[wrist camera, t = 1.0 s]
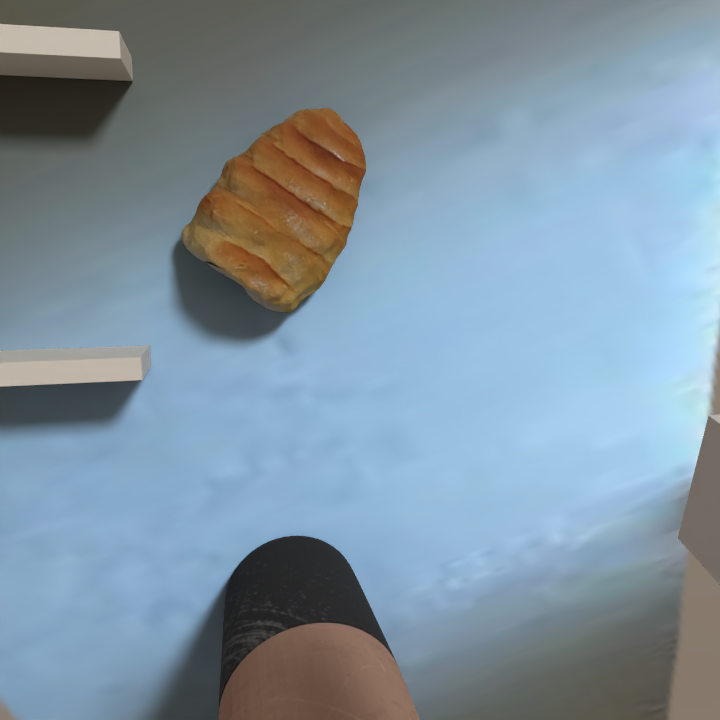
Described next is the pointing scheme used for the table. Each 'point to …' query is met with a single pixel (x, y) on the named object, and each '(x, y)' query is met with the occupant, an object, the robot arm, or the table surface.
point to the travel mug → (305, 641)
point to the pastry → (282, 209)
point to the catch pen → (81, 61)
